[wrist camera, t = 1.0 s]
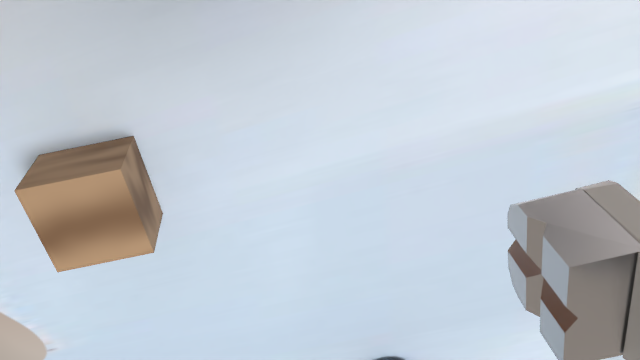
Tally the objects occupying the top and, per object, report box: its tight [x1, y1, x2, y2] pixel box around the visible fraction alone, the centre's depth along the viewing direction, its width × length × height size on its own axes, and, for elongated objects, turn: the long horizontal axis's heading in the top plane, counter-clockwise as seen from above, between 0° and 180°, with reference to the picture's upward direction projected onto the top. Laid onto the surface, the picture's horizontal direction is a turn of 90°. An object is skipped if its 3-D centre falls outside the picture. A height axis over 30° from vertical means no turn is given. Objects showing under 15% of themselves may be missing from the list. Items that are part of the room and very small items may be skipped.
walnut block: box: [15, 136, 163, 272], centre depth 46 cm, size 8×8×6 cm
